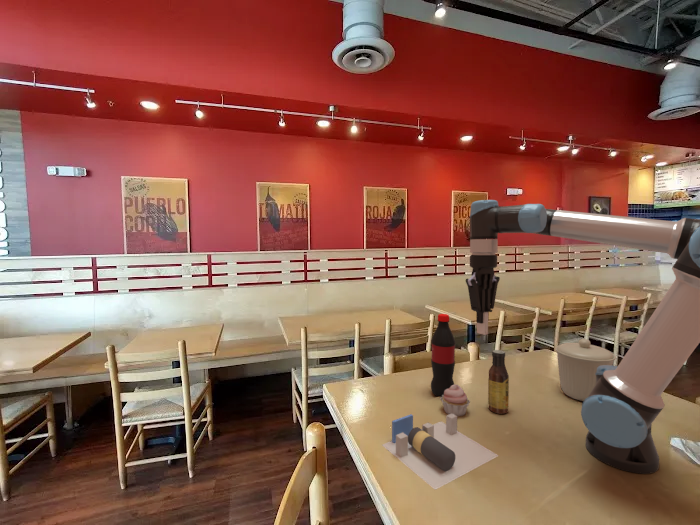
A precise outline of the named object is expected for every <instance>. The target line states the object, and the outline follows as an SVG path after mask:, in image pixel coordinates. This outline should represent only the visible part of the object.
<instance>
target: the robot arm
mask: <svg viewBox="0 0 700 525" xmlns="http://www.w3.org/2000/svg"><path fill="white" fill-rule="evenodd" d="M469 221H470V222H469V223H470V224H469V225H470V226H469V231H470V232H469V234H470V236H469V239H470V240H469V241H470V242H469V252H470V253H471V254H470V255H469V267H470V268H472V271H471V276H470V277H469V278H465V284H466V285H467V289H468V290H467V291H468V296H469V305H470V308H471V310H472V311H473V312H476V314H475V315H476V316H475V317H476V333H477V334H480V335H484V336H485V335H488V334H489V320H490V319H489V318H490V317H489V313H492V312H493V309H494V308H495V303H496V297H497V290H498V284H499V282H500V279H501V278H500V276H496V275H495V270H494V269H495V268H497V267H498V255H497V254H498V246H499V244H498V238H499V237H498V234H535V235H540V236H541V235H542V236H547V237H549V236H550V237H557V238H564V239H570V240H577V241H581V242H582V241H583V242H584V241H585V242H589V243H590V242H591V243H597V244H604V245H611V246H617V247H623V248H630V249H637V250H643V251H644V250H645V251H651V252H656V253H661V254H662V253H664V254H667V255H668V256H670V258H671V259H673V260H674V259H675V260H676V261H675V263H674V264H673V265H672V268H671V270H672V272H673V274H674V276H675V279H674V281H673V282H672V284H671V285H670V287H669V288H668V290H667V291H666V293H665V295H664V296H663V297H662V299H661V300H660V302H659V303H658V305H657V307H656V308H655V310H654V311H653V313H652V314H651V316H650V317H649V319H648V320H647V321H646V323H645V325H644V326H643V328H642V329H641V331H640V332H639V334H637V336H636V338H635V339H634V341H633V342H632V344H631V346H630V348H628V350H627V352H626V353H625V354H624V355H623V358H622V359H621V361H620V362H619V364H618V365H613V366H611V365H601V366H599V367H597V371H596V373H595V375H596V385H595V386H594V388H593V389H592V391H591V393H590V394H589V396H588V397H587V398H586V399H585V400H584V401H582V403H581V411H580V415H581V420H582V422H583V424H584V426H585V428H586V429H587V431H588V432H587V434H586V436H585V448H586V449H587V451H588V452H589V454H591V455H592V456H593V457H595V458H596V459H598V460H599V461H601V462H602V463H604V464H606V465H608V466H611V467H613V468H616V469H618V470H621V471H626V472H629V473H633V474H634V473H635V474H644V475H645V474H654V473H655V472H657V471H658V470H659V468H660V456H659V453H658V451H657V447H656V444H655V441H654V439H653V436H652V426H653V425H652V424H653V422H654V421H655V420H656V419H657V417H658V416H659V414H660V413H661V411H662V410H663V409H664V407H665V402H664V400H663V398H662V394H663V392H664V391H665V389H667V387H668V386H669V384H670V383H671V382H672V380H673V379H674V378H675V377H676V375H677V374H678V373H679V371H680V370H681V368H682V367H683V365H685V363H686V362H687V360H688V359H689V358H690V356H691V355H692V354H693V352H694V351H695V349H696V348H697V347H698V346H699V344H700V218H690V217H682V218H681V219H680V220H677V221H676V220H675V221H674V220H673V221H672V220H665V219H664V220H663V219H654V218H653V219H652V218H642V217H634V216H624V215H623V216H622V215H614V214H613V215H612V214H602V213H594V212H593V213H592V212H582V211H572V210H571V211H570V210H563V209H561V210H560V209H554V208H553V209H551V208H545V205H543V204H541V203H526V204H517V205H514V204H513V205H507V206H506V205H505V206H503V205H502V206H500V205H499V201H498V200H495V199H481V200H476V201H472V203H471V205H470V213H469Z"/></svg>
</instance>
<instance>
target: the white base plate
mask: <svg viewBox="0 0 700 525" xmlns="http://www.w3.org/2000/svg"><path fill="white" fill-rule="evenodd" d="M421 427H422V428H421V429H422V430H423V431H425V432H426V433H428V434H429V435H431V436H432V437H433V438H435V439H436V440H438V441H439V442H440V443H442V444H443V445H445V446H446V447H448V448H449V449H451V450H452V451H453V452H454V453H455V462H454V465H453V466H452V468H451V469H450V470H448V471H443V470H442V469H441V468H439V467H438V466H437V465H435V464H434V463H433V462H432V461H430V460H429V459H428V458H426V457H425V456H424V455H422V454H421V453H420V452H418V451H417V450H416V449H415V448H413V447H412V446H411V445H410V444H409V443H408V435H409V433H410V431H411V430H412V429H413V428H414V415H413V414H412V413H411V414H408V415H404V416H402V417H399V418H396V419H394V420H392V421H391V441H387V442H385V443H383V444H381V446H382V447H383V448H385V449H386V450H388V452H389V453H391V454H392V455H393V456H394V457H395V458H397V459H398V460H399V461H400V462H401V463H402V464H404V465H405V466H406V467H407V468H408V469H409V470H411V471H412V472H413V473H414V474H415V475H417V476H418V477H419V478H420V479H421V480H422V481H424V482H425V483H426V484H427V485H429V486H430V487H431V488H432V489H434V491H435V490H437V489H440V488H442V487H443V486H445V485H447V484H449V483H451V482H453V481H454V480H456V479H458V478H460V477H462V476H464V475H466V474H467V473H469V472H471V471H473V470H475V469H478V468H479V467H480V466H483V465H484V464H487V463H488V462H490V461H492V460H493V459H495V458H497V457H499V456H500V455H499V454H497V453H495V452H494V451H492V450H490V449H489V448H487V447H485V446H484V445H482V444H480V443H479V442H477V441H476V440H474V439H472V438H470V437H469V436H467V435H465V434H464V433H462V432H460V431H458V416H456V415H454V414H447V415H446V416H445V422H444V421H442V420H441V421H438V422H436V423H433V424H432V423H431V422H426V423H423V424H422V425H421Z"/></svg>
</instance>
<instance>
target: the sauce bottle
mask: <svg viewBox="0 0 700 525" xmlns="http://www.w3.org/2000/svg"><path fill="white" fill-rule="evenodd" d="M491 356H492V362H491V363H492V365H491V367H489V369H488V379H487V380H488V383H487V384H488V393H487V394H488V395H487V396H488V398H487V400H488V402H487V403H488V409H489V411H491V412H492V413H495V414H500V415H503V414H507V413H508V411H509V402H510V400H509V396H510V394H509V393H510V390H509V388H510V387H509V386H510V382H509V380H510V376H509V373H508V369H507V368H506V363H505V362H506V359H505V358H506V352H505V351H504V350H501V349H494V350H492V351H491Z"/></svg>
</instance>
